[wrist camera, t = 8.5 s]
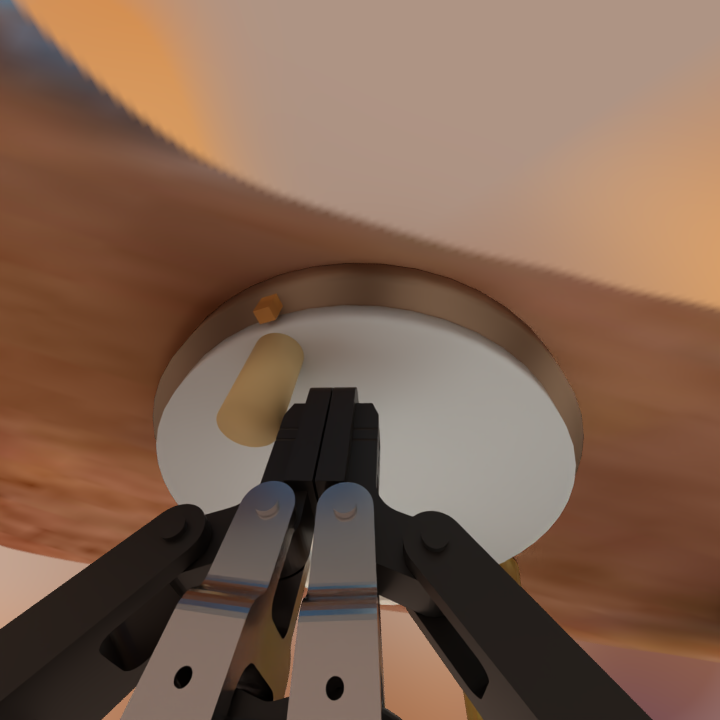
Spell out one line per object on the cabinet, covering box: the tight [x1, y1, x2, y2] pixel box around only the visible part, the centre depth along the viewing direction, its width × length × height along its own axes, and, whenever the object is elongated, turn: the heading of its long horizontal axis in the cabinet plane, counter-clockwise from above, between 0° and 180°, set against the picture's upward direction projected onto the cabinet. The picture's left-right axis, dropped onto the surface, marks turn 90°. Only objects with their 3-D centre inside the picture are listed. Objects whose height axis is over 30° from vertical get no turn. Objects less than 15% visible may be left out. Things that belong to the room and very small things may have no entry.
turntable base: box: [153, 263, 584, 475], centre depth 21 cm, size 24×24×3 cm
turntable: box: [156, 305, 576, 605], centre depth 19 cm, size 22×22×6 cm
